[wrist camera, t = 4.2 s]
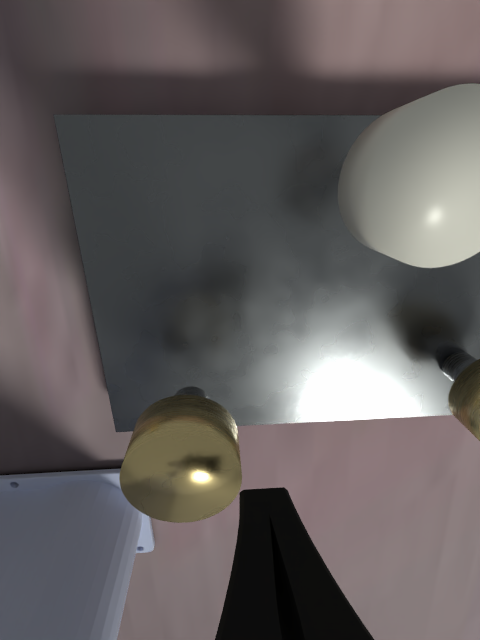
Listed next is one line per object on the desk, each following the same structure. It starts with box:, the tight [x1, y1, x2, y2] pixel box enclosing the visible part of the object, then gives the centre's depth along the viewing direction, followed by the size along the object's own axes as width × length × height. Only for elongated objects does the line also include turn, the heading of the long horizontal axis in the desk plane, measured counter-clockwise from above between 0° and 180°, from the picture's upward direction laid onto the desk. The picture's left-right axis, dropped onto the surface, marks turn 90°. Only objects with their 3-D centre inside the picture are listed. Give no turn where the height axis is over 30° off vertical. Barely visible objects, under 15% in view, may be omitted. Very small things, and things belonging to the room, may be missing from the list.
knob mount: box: [54, 115, 480, 432], centre depth 17 cm, size 23×15×2 cm, turn 90°
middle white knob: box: [338, 83, 480, 268], centre depth 10 cm, size 4×4×4 cm
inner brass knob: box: [119, 386, 242, 523], centre depth 13 cm, size 4×4×4 cm
